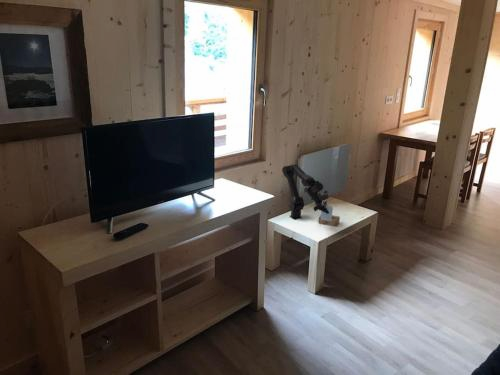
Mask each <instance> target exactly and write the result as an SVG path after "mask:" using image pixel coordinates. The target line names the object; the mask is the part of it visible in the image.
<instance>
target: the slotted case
mask: <svg viewBox="0 0 500 375" xmlns="http://www.w3.org/2000/svg"><path fill="white" fill-rule="evenodd" d="M340 219H341V218H340V216H338V215H333V214H332V220H331V221H326V220H321V214H320V215H319V217H318V224H319V225H324V226H325V225H326V226H330V227H335V228H337V227H338V225H339V223H340Z"/></svg>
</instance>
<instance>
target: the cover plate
mask: <svg viewBox="0 0 500 375" xmlns="http://www.w3.org/2000/svg"><path fill="white" fill-rule="evenodd" d="M325 207H326V209H327V210H328V212H329V214H327V213H325V212H323V211H321V210H320V215H321V220H326V221H331V220H332V215H333V208H334V206H331V205H328V204H327V205H325Z"/></svg>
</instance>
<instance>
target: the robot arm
mask: <svg viewBox="0 0 500 375" xmlns="http://www.w3.org/2000/svg"><path fill="white" fill-rule="evenodd" d="M281 172H282V173H283V176H284V177H285V178H286V179H287V184H288V187H289V190H290V193H291V196H292V197H291V198H292V199H291V201H290V203H291V204H290V205H288V208H289V210H290V215H289V218H291V219H293V220H299V219H302V218H303V217H302V210H304V207H305V201H304V198H303V196H300V194H299V191H298V187H297V183H296V180H295V175H296V176H297V177H298V178H299V179H300V181H301V184H302V186H304V187H305V188H304V189H303V190H304V191H303V192H304V193H307V194H308V196H309V197H310V198H311V199H310V200H311V201H313V202H314V206H313V208H312V209H313V211H314V212H317V211H318V210H319V211H320V212H321V211H323V212H325V213H327V214H329V212H328V210H327V209H326V207H325V205H327V206H328V199H329V198H330V197H331V195H330V192H329V190H324V185H323V183H321V182H320V181H319V180H315V179H314V177H312V176H311V175H309V174H307V173H306V172H305V171H304V170H302V168H301V167H300V166H299V164H298V163H295V164H289V165H284V166H283V167H282V169H281ZM322 190H324V191H323V192H322V193H321V191H322Z"/></svg>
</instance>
